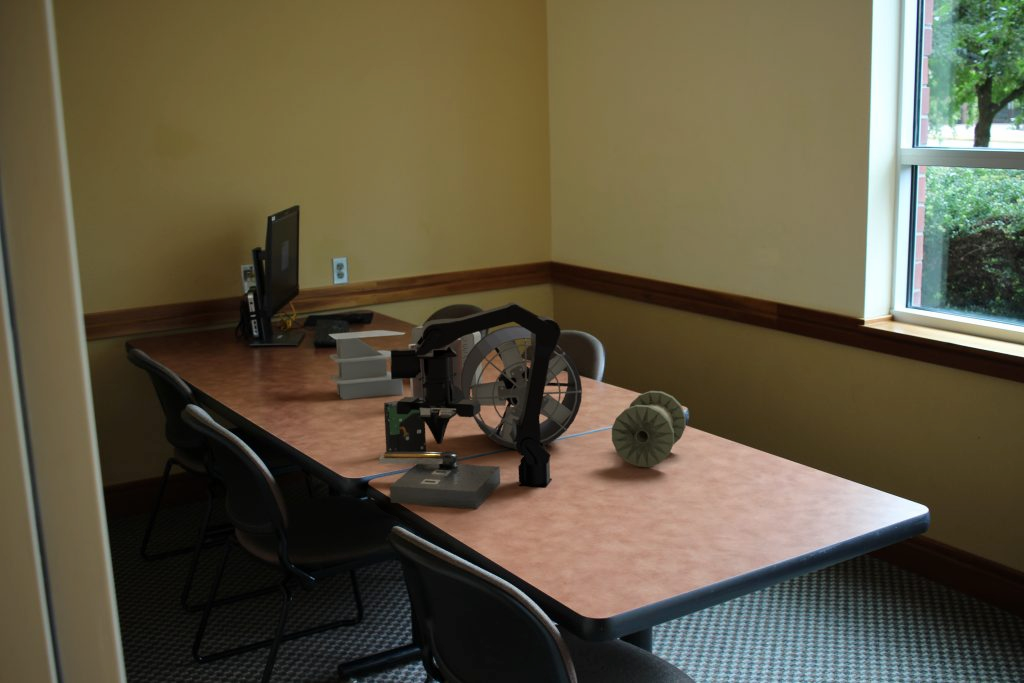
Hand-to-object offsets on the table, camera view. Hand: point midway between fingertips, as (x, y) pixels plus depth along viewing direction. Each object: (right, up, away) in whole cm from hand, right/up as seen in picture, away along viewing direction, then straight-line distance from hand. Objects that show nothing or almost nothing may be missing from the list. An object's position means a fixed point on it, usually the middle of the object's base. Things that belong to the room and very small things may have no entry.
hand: (439, 443), depth 227 cm
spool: (+51, -6, +22) cm, 56 cm away
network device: (-5, +8, +105) cm, 105 cm away
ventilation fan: (+19, -4, +39) cm, 43 cm away
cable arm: (-5, -6, +7) cm, 10 cm away
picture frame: (-6, +2, +73) cm, 74 cm away
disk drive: (-11, -7, +29) cm, 31 cm away
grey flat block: (+2, -11, 0) cm, 11 cm away
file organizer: (-28, +4, +91) cm, 95 cm away
